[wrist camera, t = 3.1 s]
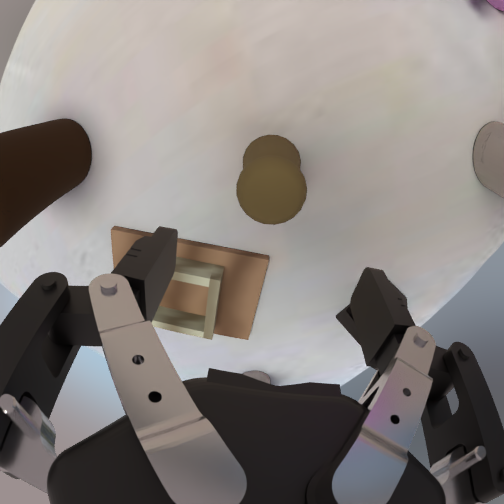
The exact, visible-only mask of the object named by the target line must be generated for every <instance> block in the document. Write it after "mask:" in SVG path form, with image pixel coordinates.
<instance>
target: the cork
mask: <svg viewBox="0 0 504 504" xmlns="http://www.w3.org/2000/svg"><path fill="white" fill-rule="evenodd" d="M300 163H301V160H300V156H299V152H298V150H297V149H296V147H295V146H294V144H292V143H291V142H290V141H289V140H287V139H286V138H283V137H281V136H278V135H266V136H262V137H259V138H257V139H256V140H254V141H253V142H252V143H251V144H250V145H249V146H248V147H247V149H246V151H245V154H244V156H243V170H242V172H241V174H240V176H239V179H238V182H237V197H238V201H239V204H240V206H241V207H242V209H243V210H244V212H245V213H246V214H247V215H248V216H249V217H251V218H252V219H254V220H255V221H258V222H261V223H263V224H274V225H275V224H279V223H284V222H286V221H288V220H290V219H292V218H293V217H294V216H295V215H296V214H297V213H298V212H299V211H300V210H301V208H302V206H303V204H304V202H305V199H306V193H307V186H306V182H305V178H304V176H303V174H302V173H301V171H300Z"/></svg>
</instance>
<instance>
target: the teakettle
mask: <svg viewBox="0 0 504 504" xmlns="http://www.w3.org/2000/svg"><path fill="white" fill-rule="evenodd" d="M487 1H488V2H489V3H490V4H491V5H492V6H493V7H495V8H497V9H498V10H501V11H504V0H487Z"/></svg>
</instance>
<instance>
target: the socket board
mask: <svg viewBox="0 0 504 504" xmlns="http://www.w3.org/2000/svg"><path fill="white" fill-rule="evenodd" d="M152 235H153V233H148V232H143V231H138V230H133V229H127V228H122V227H117V226H114V227H113V228H112V229H111V240H112V253H113V264H114V268H115V267H116V266H117V264H118V263H119V262H120V260H121V259H122V258H123V257H124V255H126V253H127V251H128V250H129V249H130V248H131V246H132V245H133V244H134V242H135V241H136V240H138V239H140V238H142V237H144V236H150V237H152ZM268 262H269V256H268V255H263V254H257V253H252V252H247V251H242V250H237V249H231V248H226V247H221V246H216V245H211V244H205V243H200V242H195V241H190V240H185V239H179V238H177V253H176V266H175V271H174V274H173V277H172V279H171V281H170V283H169V285H168V288H167V290H166V292H165V294H164V296H163V298H162V301H161V303H160V305H159V307H158V309H157V312H156V314H155V316H154V318H153V321H152V325H153V326H154V327H158V328H162V329H166V330H170V331H174V332H179V333H183V334H188V335H192V336H197V337H202V338H206V339H211V340H212V338H213V333H214V334H219V335H224V336H229V337H235V338H240V339H246V340H248V338H249V335H250V331H251V327H252V323H253V320H254V316H255V312H256V308H257V304H258V300H259V297H260V293H261V289H262V285H263V281H264V277H265V273H266V269H267V266H268Z"/></svg>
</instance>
